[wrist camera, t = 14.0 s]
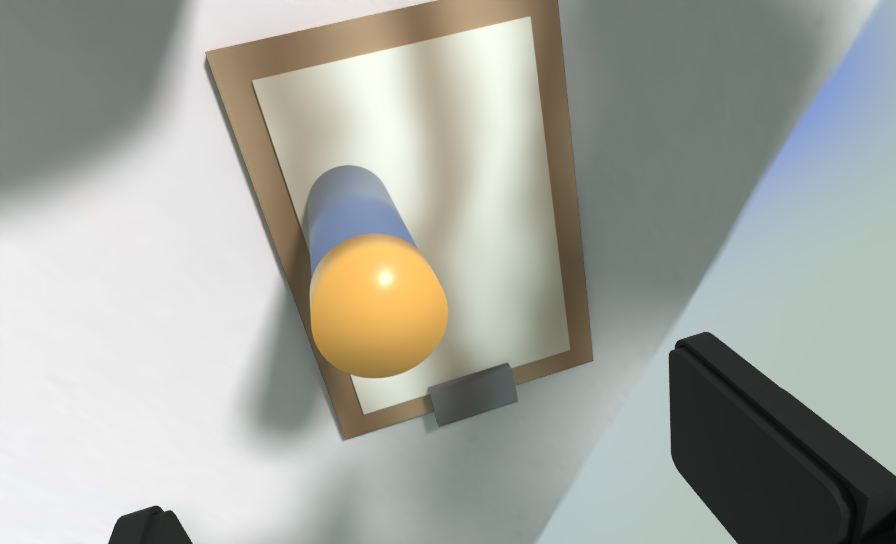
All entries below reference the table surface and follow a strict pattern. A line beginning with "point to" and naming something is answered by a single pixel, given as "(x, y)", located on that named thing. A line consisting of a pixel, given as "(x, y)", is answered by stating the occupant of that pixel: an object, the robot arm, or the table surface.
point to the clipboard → (431, 184)
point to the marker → (369, 279)
